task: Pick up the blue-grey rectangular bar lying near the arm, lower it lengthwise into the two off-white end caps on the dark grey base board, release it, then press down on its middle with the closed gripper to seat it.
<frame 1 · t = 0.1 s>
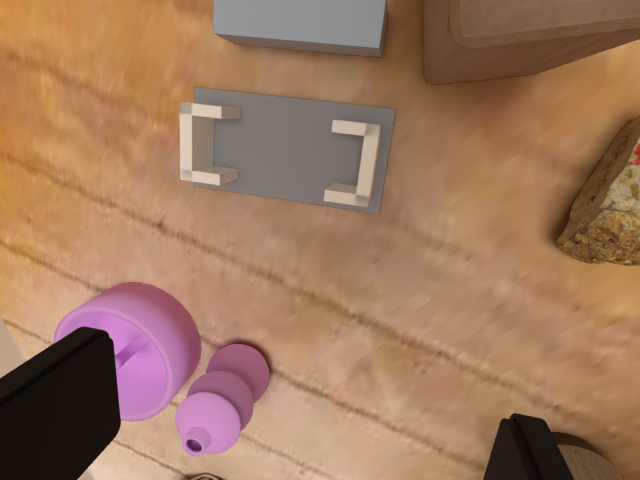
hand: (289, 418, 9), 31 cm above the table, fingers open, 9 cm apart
container set: (182, 344, 49), on the table
lamp: (550, 469, 44), on the table
rock: (620, 192, 34), on the table
wooden block: (482, 17, 32), on the table
endcap board: (288, 150, 39), on the table
blue-grey rectangular bar: (308, 30, 35), on the table
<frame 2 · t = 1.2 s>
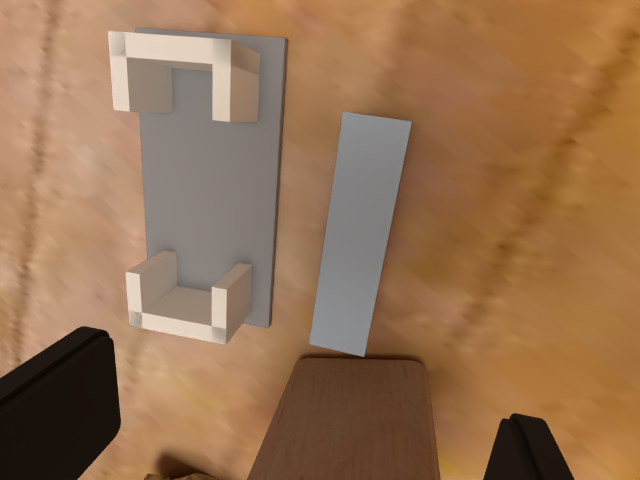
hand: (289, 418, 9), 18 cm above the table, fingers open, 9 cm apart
wooden block: (363, 406, 30), on the table
endcap board: (211, 189, 27), on the table
blue-grey rectangular bar: (362, 223, 26), on the table
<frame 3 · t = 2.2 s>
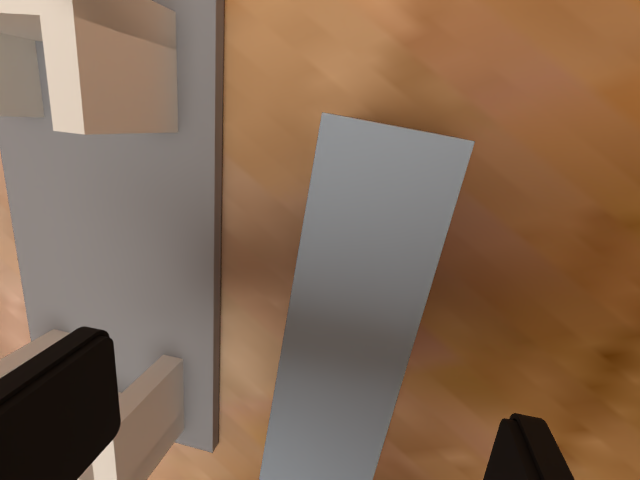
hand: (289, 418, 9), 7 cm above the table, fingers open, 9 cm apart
endcap board: (117, 239, 17), on the table
blue-grey rectangular bar: (358, 302, 16), on the table
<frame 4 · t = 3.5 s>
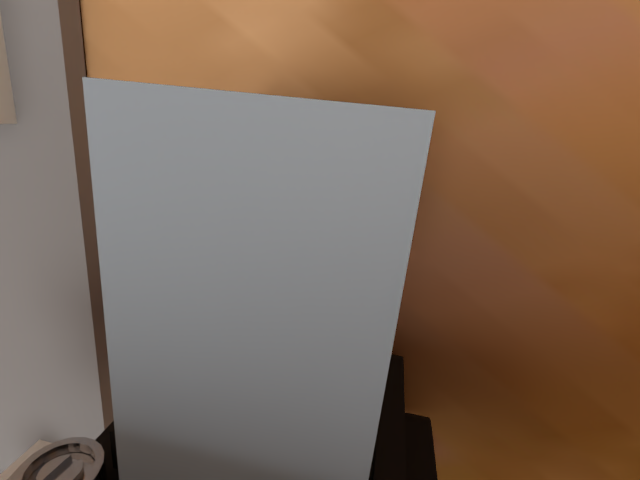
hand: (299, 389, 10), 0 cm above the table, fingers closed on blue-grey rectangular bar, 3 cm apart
blue-grey rectangular bar: (304, 377, 10), on the table, touching gripper
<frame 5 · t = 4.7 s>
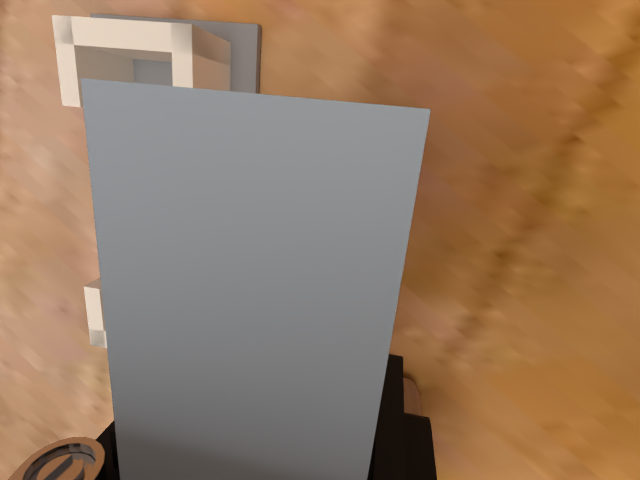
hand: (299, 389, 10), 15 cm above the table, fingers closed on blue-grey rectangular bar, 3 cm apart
wooden block: (351, 425, 28), on the table
endcap board: (181, 193, 25), on the table
blue-grey rectangular bar: (304, 376, 10), point 14 cm above the table, touching gripper
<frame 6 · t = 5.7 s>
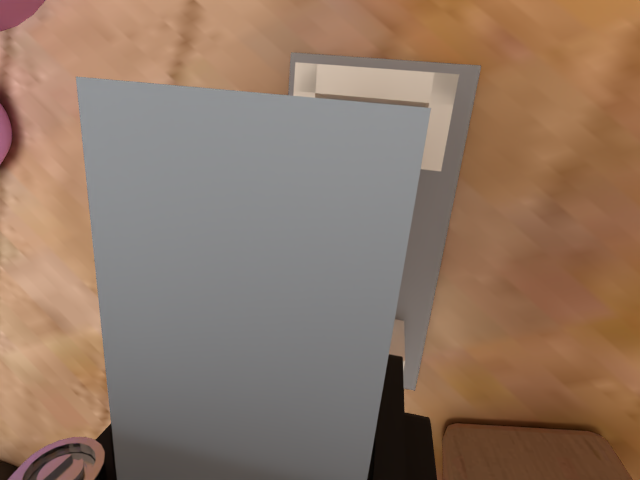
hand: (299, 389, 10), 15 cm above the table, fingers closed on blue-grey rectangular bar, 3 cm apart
wooden block: (515, 476, 27), on the table
endcap board: (360, 235, 24), on the table
blue-grey rectangular bar: (304, 377, 10), point 14 cm above the table, touching gripper
when the fingers open (2 cm above the table, at t = 7.7 s): blue-grey rectangular bar stays where it is, resting on endcap board.
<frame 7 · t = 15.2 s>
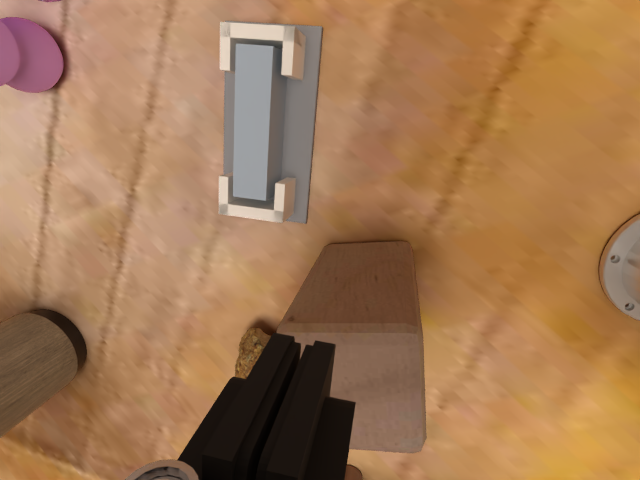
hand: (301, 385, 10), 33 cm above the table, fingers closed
lamp: (55, 341, 57), on the table
rock: (286, 361, 50), on the table
wooden block: (369, 280, 45), on the table
endcap board: (269, 127, 41), on the table
blue-grey rectangular bar: (268, 125, 41), point 1 cm above the table, touching endcap board
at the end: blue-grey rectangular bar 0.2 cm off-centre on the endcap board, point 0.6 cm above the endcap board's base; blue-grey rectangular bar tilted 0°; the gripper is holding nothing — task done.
